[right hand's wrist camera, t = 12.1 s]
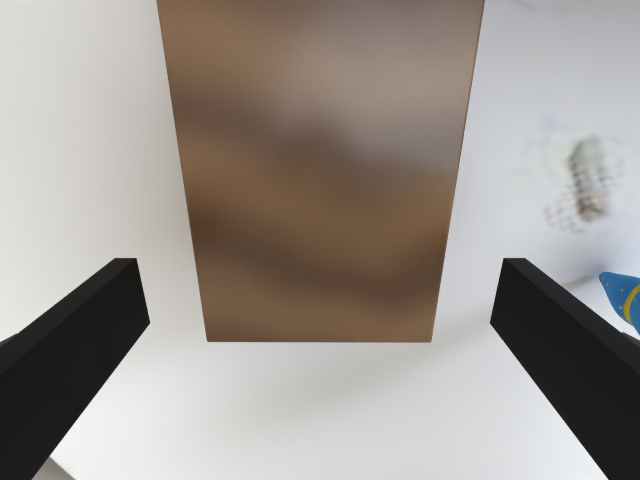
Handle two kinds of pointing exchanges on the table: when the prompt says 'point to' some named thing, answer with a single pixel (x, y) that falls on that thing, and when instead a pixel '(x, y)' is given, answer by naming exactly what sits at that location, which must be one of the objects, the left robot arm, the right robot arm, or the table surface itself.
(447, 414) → the table surface
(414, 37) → the cabinet
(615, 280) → the ornament
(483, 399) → the table surface
